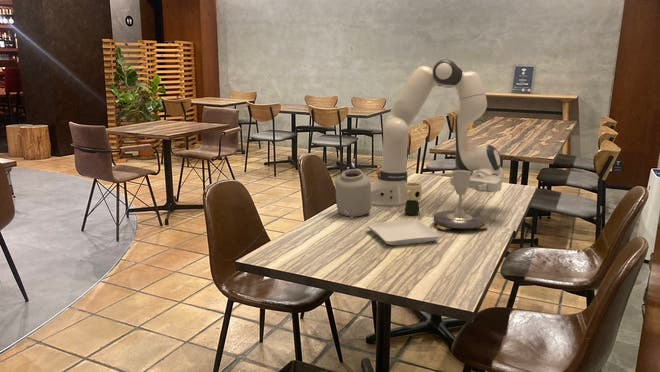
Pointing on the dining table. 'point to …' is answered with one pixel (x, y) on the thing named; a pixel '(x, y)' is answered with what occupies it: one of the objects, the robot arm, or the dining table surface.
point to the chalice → (461, 188)
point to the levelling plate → (459, 220)
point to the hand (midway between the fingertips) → (467, 186)
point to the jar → (353, 193)
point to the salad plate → (403, 232)
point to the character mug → (412, 197)
